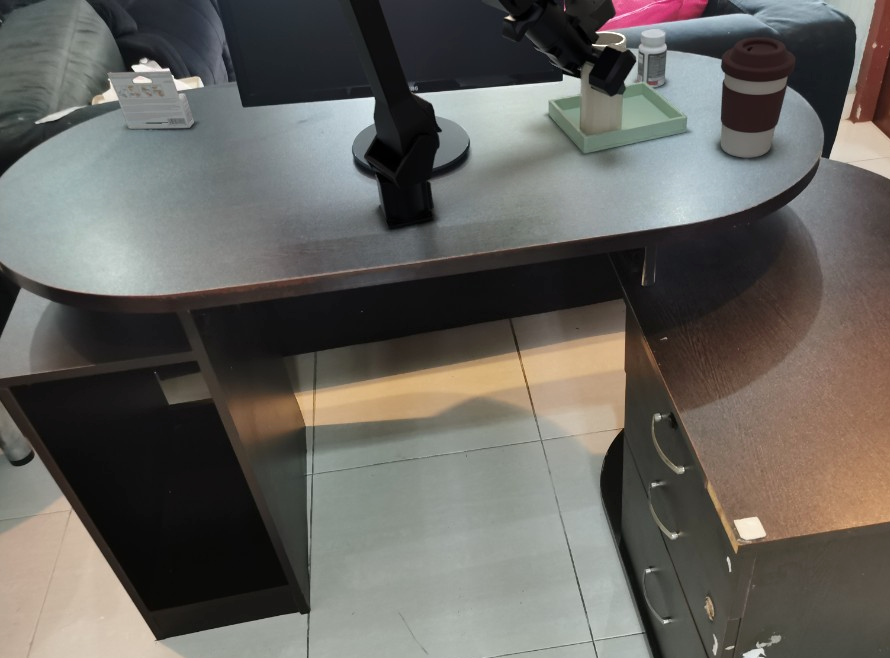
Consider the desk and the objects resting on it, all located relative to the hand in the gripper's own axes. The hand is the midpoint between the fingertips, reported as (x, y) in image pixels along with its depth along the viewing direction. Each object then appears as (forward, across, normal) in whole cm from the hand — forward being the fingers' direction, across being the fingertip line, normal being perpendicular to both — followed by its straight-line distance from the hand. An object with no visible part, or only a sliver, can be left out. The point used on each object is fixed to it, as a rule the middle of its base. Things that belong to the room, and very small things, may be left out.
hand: (608, 84), depth 125 cm
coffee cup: (+14, -18, -3) cm, 23 cm away
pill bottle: (+19, +9, -8) cm, 22 cm away
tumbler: (+4, 0, +6) cm, 7 cm away
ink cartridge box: (-32, +54, +43) cm, 76 cm away
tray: (+8, +2, +3) cm, 8 cm away
